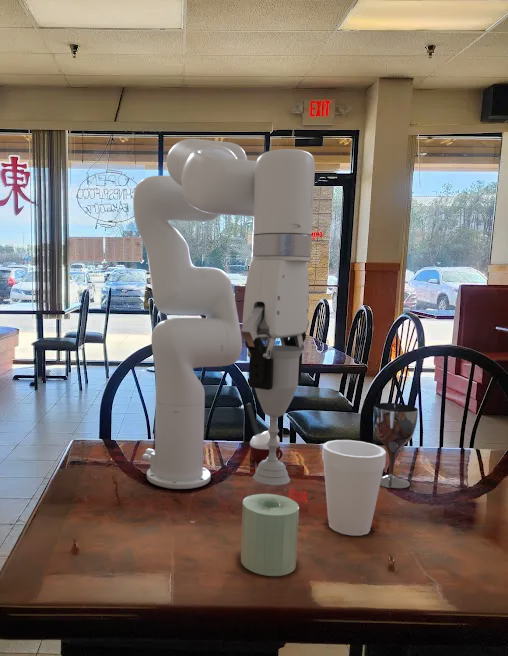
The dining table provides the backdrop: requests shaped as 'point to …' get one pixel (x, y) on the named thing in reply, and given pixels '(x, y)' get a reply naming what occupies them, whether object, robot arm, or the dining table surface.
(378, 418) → the wine glass
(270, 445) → the chalice
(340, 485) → the foam cup
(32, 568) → the dining table surface
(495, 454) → the dining table surface
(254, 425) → the cocoa
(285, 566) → the mug
